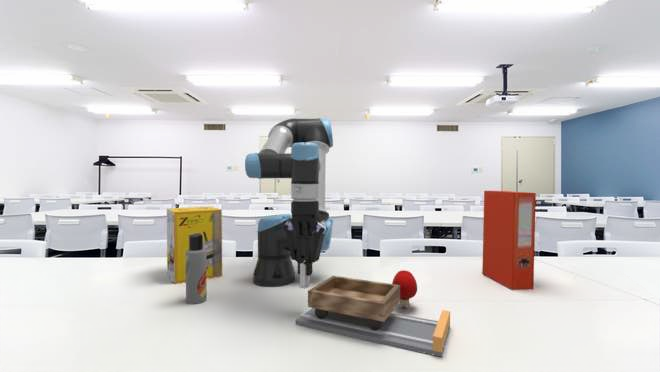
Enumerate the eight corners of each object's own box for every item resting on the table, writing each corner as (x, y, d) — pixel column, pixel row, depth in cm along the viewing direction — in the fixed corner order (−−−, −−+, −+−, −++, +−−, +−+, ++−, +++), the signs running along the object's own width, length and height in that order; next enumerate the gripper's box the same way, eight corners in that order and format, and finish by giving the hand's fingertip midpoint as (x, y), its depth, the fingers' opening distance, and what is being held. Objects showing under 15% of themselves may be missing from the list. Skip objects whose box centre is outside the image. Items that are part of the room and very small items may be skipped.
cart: (307, 318, 82) (307, 290, 82) (332, 299, 95) (332, 275, 95) (384, 335, 74) (384, 303, 74) (400, 311, 87) (400, 285, 86)
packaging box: (222, 276, 124) (221, 209, 123) (174, 284, 115) (174, 211, 114) (210, 266, 137) (210, 206, 136) (167, 273, 128) (166, 208, 127)
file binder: (502, 274, 127) (503, 190, 126) (534, 289, 110) (535, 192, 109) (482, 274, 126) (483, 190, 126) (511, 289, 109) (512, 192, 108)
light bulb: (418, 315, 89) (418, 278, 89) (391, 313, 90) (391, 276, 90) (416, 302, 98) (416, 268, 98) (392, 300, 99) (392, 267, 99)
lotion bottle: (210, 298, 101) (210, 233, 100) (197, 305, 95) (196, 236, 95) (195, 296, 103) (194, 232, 102) (181, 303, 97) (181, 234, 97)
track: (295, 324, 83) (295, 308, 83) (323, 303, 97) (323, 290, 97) (441, 357, 68) (441, 337, 68) (450, 327, 82) (450, 311, 82)
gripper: (277, 200, 90) (277, 287, 90) (319, 201, 84) (319, 294, 84) (292, 198, 96) (292, 279, 97) (332, 200, 90) (332, 286, 91)
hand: (305, 286), depth 90 cm, fingers closed
